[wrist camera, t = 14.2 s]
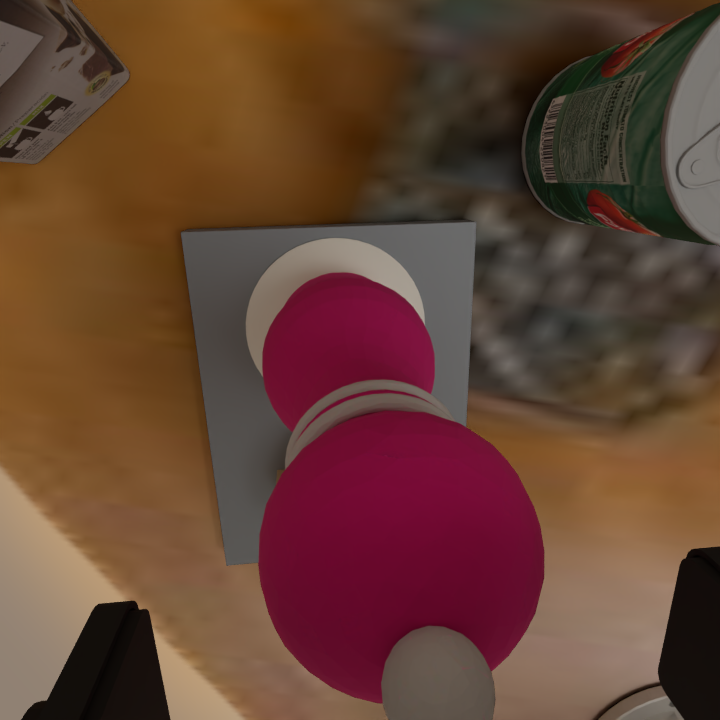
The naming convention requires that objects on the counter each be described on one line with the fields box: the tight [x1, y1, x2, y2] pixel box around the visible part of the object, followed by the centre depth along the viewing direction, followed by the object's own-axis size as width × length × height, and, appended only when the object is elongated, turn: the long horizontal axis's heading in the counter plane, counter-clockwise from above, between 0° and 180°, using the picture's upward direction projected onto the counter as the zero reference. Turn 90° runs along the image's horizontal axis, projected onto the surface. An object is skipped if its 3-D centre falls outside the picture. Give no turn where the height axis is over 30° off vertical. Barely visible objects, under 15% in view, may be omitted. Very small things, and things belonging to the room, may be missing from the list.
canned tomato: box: [521, 3, 720, 246], centre depth 21 cm, size 8×8×11 cm
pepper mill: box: [258, 272, 544, 720], centre depth 17 cm, size 7×7×20 cm
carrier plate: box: [181, 220, 476, 566], centre depth 26 cm, size 19×14×6 cm
